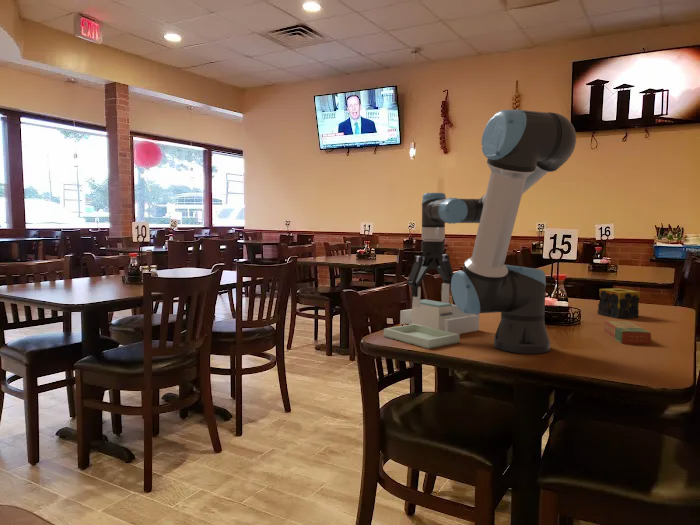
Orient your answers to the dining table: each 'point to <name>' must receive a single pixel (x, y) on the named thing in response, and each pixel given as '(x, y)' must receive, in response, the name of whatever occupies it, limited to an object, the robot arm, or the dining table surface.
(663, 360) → the dining table surface
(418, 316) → the mint-topped white block
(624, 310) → the yellow and blue cube
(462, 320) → the bay
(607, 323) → the carton
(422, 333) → the tray
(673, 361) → the dining table surface
